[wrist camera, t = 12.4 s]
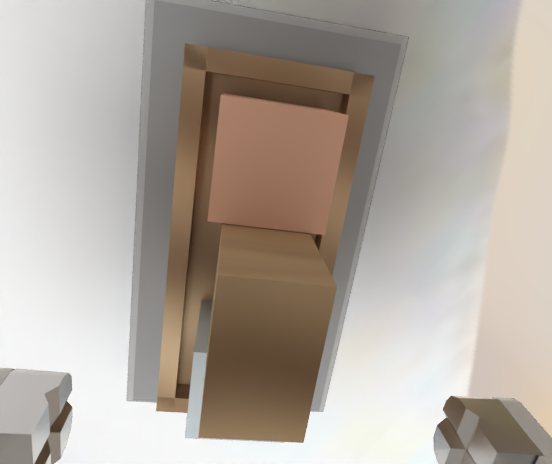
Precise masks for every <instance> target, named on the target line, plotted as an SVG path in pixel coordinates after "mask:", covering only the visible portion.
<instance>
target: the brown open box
mask: <svg viewBox="0 0 552 464" xmlns="http://www.w3.org/2000/svg"><path fill="white" fill-rule="evenodd" d="M374 77H375V76H374V75H368V74H362V73H356V72H350V71H345V70H339V69H333V68H327V67H321V66H315V65H310V64H304V63H298V62H292V61H286V60H280V59H275V58H269V57H263V56H257V55H251V54H245V53H240V52H234V51H228V50H222V49H216V48H210V47H205V46H199V45H193V44H187V43H185V48H184V61H183V74H182V86H181V99H180V112H179V125H178V138H177V151H176V164H175V177H174V189H173V202H172V215H171V228H170V241H169V254H168V267H167V280H166V292H165V305H164V318H163V331H162V344H161V357H160V370H159V383H158V395H157V408H156V411H164V412H183V413H188V403H189V393H190V384H191V374H192V364H193V355H194V347H195V341H196V334H197V328H198V321H199V315H200V308H201V302H202V300H208V301H212V309H211V319H210V329H209V339H208V348H207V358H206V368H205V377H204V387H203V397H202V407H201V416H200V426H199V436H198V438H214V439H236V440H257V441H279V442H300V443H303V442H304V437H305V433H306V428H307V423H308V419H309V414H310V410H311V405H312V400H313V396H314V391H315V387H316V382H317V378H318V373H319V368H320V364H321V359H322V355H323V350H324V345H325V341H326V336H327V332H328V327H329V322H330V318H331V313H332V309H333V304H334V299H335V295H336V290H337V285H336V283H335V281H334V279H333V278H332V275H333V271H334V266H335V261H336V257H337V252H338V247H339V242H340V238H341V233H342V228H343V224H344V219H345V214H346V209H347V205H348V200H349V195H350V191H351V186H352V181H353V176H354V172H355V167H356V162H357V157H358V153H359V148H360V143H361V139H362V134H363V129H364V124H365V120H366V115H367V110H368V106H369V101H370V96H371V91H372V87H373V82H374ZM223 93H227V94H233V95H239V96H246V97H252V98H259V99H265V100H271V101H278V102H284V103H290V104H297V105H303V106H309V107H316V108H322V109H327V110H330V111H334V112H338V113H342V114H346V115H349V117H348V122H347V127H346V132H345V137H344V142H343V147H342V152H341V158H340V163H339V168H338V173H337V178H336V183H335V188H334V193H333V198H332V203H331V208H330V213H329V218H328V223H327V228H326V233H325V235H320V234H311V233H303V232H294V231H285V230H277V229H268V228H259V227H251V226H242V225H234V224H225V223H216V222H208V221H207V220H208V211H209V201H210V192H211V182H212V173H213V164H214V154H215V145H216V135H217V126H218V116H219V107H220V97H221V95H222V94H223Z"/></svg>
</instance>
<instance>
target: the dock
mask: <svg viewBox="0 0 552 464" xmlns="http://www.w3.org/2000/svg"><path fill="white" fill-rule="evenodd" d="M408 38H409V37H406V36H401V35H395V34H390V33H385V32H379V31H374V30H368V29H363V28H358V27H352V26H347V25H341V24H336V23H331V22H325V21H320V20H314V19H309V18H303V17H298V16H293V15H287V14H282V13H276V12H271V11H266V10H260V9H255V8H249V7H244V6H239V5H233V4H228V3H222V2H217V1H212V0H146V9H145V30H144V51H143V71H142V92H141V113H140V133H139V154H138V175H137V195H136V216H135V237H134V257H133V278H132V299H131V320H130V340H129V361H128V382H127V401H136V402H154V403H157V395H158V383H159V370H160V357H161V344H162V331H163V318H164V305H165V292H166V280H167V267H168V254H169V241H170V228H171V215H172V202H173V189H174V177H175V164H176V151H177V138H178V125H179V112H180V99H181V86H182V74H183V61H184V48H185V43H187V44H193V45H199V46H205V47H210V48H216V49H222V50H228V51H234V52H240V53H245V54H251V55H257V56H263V57H269V58H275V59H280V60H286V61H292V62H298V63H304V64H310V65H315V66H321V67H327V68H333V69H339V70H345V71H350V72H356V73H362V74H368V75H374V76H375V77H374V82H373V87H372V91H371V96H370V101H369V106H368V110H367V115H366V120H365V124H364V129H363V134H362V139H361V143H360V148H359V153H358V157H357V162H356V167H355V172H354V176H353V181H352V186H351V191H350V195H349V200H348V205H347V209H346V214H345V219H344V224H343V228H342V233H341V238H340V242H339V247H338V252H337V257H336V261H335V266H334V271H333V275H332V278H333V279H334V281H335V283H336V285H337V290H336V295H335V299H334V304H333V309H332V313H331V318H330V322H329V327H328V332H327V336H326V341H325V345H324V350H323V355H322V359H321V364H320V368H319V373H318V378H317V382H316V387H315V391H314V396H313V400H312V405H311V410H310V411H315V412H323V411H324V407H325V402H326V398H327V394H328V389H329V385H330V380H331V376H332V372H333V367H334V363H335V359H336V354H337V350H338V345H339V341H340V337H341V332H342V328H343V323H344V319H345V315H346V310H347V306H348V302H349V297H350V293H351V288H352V284H353V280H354V275H355V271H356V266H357V262H358V258H359V253H360V249H361V245H362V240H363V236H364V231H365V227H366V223H367V218H368V214H369V209H370V205H371V201H372V196H373V192H374V188H375V183H376V179H377V174H378V170H379V166H380V161H381V157H382V152H383V148H384V144H385V139H386V135H387V130H388V126H389V122H390V117H391V113H392V109H393V104H394V100H395V95H396V91H397V87H398V82H399V78H400V73H401V69H402V65H403V60H404V56H405V52H406V47H407V43H408Z"/></svg>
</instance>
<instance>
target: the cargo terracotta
mask: <svg viewBox="0 0 552 464" xmlns="http://www.w3.org/2000/svg"><path fill="white" fill-rule="evenodd" d="M348 117H349V115H346V114H342V113H338V112H334V111H330V110H327V109H322V108H316V107H309V106H303V105H297V104H290V103H284V102H278V101H271V100H265V99H259V98H252V97H246V96H239V95H233V94H227V93H223V94H222V95H221V97H220V107H219V116H218V126H217V135H216V145H215V154H214V164H213V173H212V182H211V192H210V201H209V211H208V220H207V221H208V222H216V223H225V224H234V225H242V226H251V227H259V228H268V229H277V230H285V231H294V232H303V233H311V234H320V235H325V233H326V228H327V223H328V218H329V213H330V208H331V203H332V198H333V193H334V188H335V183H336V178H337V173H338V168H339V163H340V158H341V152H342V147H343V142H344V137H345V132H346V127H347V122H348Z"/></svg>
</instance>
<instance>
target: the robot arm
mask: <svg viewBox="0 0 552 464" xmlns="http://www.w3.org/2000/svg"><path fill="white" fill-rule="evenodd" d="M71 391H72V380H71V375H70V374H69V373H64V372H51V371H39V370H27V369H10V368H0V464H54V463H55V462H56V461H58V460H59V459H60V458H61V457H62V454H63V452H64V450H65V447H66V445H67V441H68V438H69V434H70V430H71V423H72V406H71V405H70V404H69V403H68V402H67V399H68V397H69V395H70V393H71ZM443 411H444V413H445V416H446V418H445V419H444V420H443V421H442V422H441V423H439V424H438V425H437V428H436V431H435V434H434V451H435V455H436V459H437V461H438V463H439V464H552V438H551V437H550V435H549V434H548V433H547V432H546V431H545V430H544V429H543V427H542V426H541V425H540V424H539V423H538V422H537V420H536V419H535V418H534V417H533V416H532V415H531V414H530V412H529V411H528V410H527V409H526V408H525V407H524V406H523V404H522V403H521V402H519V401H517V400H515V399H514V398H482V397H481V398H480V397H463V396H451V397H450V398H449V399H448V400H447V401H446V403H445V406H444V408H443Z"/></svg>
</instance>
